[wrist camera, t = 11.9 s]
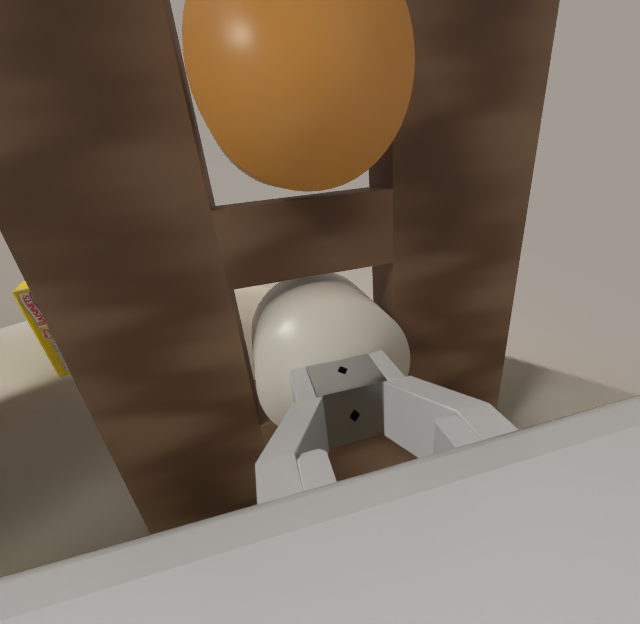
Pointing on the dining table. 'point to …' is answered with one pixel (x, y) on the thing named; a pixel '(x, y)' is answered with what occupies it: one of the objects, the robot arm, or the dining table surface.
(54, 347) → the candy box
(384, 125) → the orange button
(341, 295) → the cream button
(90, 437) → the dining table surface
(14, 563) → the dining table surface
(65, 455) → the dining table surface
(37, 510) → the dining table surface
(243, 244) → the button panel
